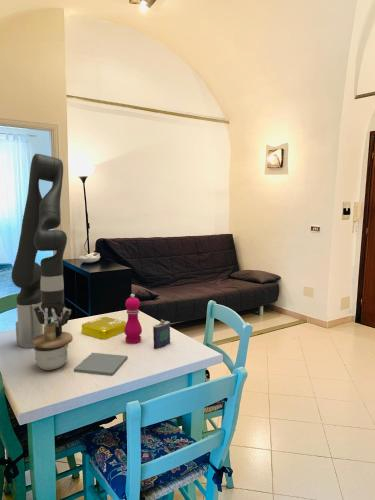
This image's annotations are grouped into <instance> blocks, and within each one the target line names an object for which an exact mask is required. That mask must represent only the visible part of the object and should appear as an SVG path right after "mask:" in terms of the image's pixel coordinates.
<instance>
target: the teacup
mask: <svg viewBox="0 0 375 500" xmlns="http://www.w3.org/2000/svg"><path fill="white" fill-rule="evenodd" d="M68 348H69V344H66V345H64V346H60V347H55V348H40V347H36V346H35V347H33V351H34V356H35V358H34V359H35V362H36V364H37V366H38V367H39V368H40V369H43V370H45V371H52V370H56V369H59V368H61V367H62V366H63V365H64V364H65V363H66V362H67V361H68Z"/></svg>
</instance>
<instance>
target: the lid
mask: <svg viewBox="0 0 375 500" xmlns="http://www.w3.org/2000/svg"><path fill="white" fill-rule="evenodd" d="M73 338H74V337H73V334H72V333H70V332H65V331H62V334H61V336H59V337H56V324H55V321H54V320H53V321H51V323H49V324H48V325H46V326H45V325H43V334H41V335H38V336H36V337H35V338H34V339H33V344H34V345H35V346H36V347H40V348H55V347H60V346H64V345H66V344H68V345H69V344H70V343H71V342H72V341H73V340H74V339H73Z"/></svg>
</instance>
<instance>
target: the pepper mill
mask: <svg viewBox="0 0 375 500" xmlns="http://www.w3.org/2000/svg"><path fill="white" fill-rule="evenodd" d="M124 303H125V308H126V313H127V321H126V326H125V329H124V332H123V334H124V335H126V336H125V342H126V343H127V344H130V345H131V344H132V345H133V344H138V343H140V342H141V341H142V337H141V335H142V332H143V329H142V325H141V322H140V319H139V313H140V309H139V308H140V306H141V301H140V300H139V298H137V297H135V294H134V293H131V294H130V297H128V298H127V299H126V300H125V302H124Z"/></svg>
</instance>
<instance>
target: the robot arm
mask: <svg viewBox="0 0 375 500" xmlns="http://www.w3.org/2000/svg"><path fill="white" fill-rule="evenodd" d="M29 168H30V169H29V176H28V178H29V179H28V188H27V197H26V199H25V200H26V201H25V206H24V211H23V215H22V220H21V221H22V223H21V228H20V235H19V241H18V247H17V252H16V254H15V255H16V256H15V259H14V264H13V265H12V266H13V267H12V270H11V281H12V284H14V286H16V288H19V289H20V292H19V293H18V295H16V312H17V321H15V338H16V346H19V347H20V348H24V349H25V348H26V349H32V348H34V347H35V345H34V344H33V339H34V338H35V337H36V336H38V335H41V334H44V326H46V325H48V324H49V323H51V322H52V319H53V321H55V324H56V337H59V336H61V334H62V332H63V326H65V325H66V324H67V323H68V322H69V319H70V317H71V314H72V312H73V310H72V309H71V308H67V307H66V305H65V303H64V301H65V293H64V292H65V290H64V289H65V288H64V286H65V285H64V284H65V283H64V276H63V275H64V274H63V260H64V253H65V249H66V247H67V243H68V236H67V234H66V232H65V231H64V230H62V229H56V228H59V226H60V225H61V221H62V220H61V219H62V218H61V194H62V188H63V178H64V162H63V161H62V160H61V159H60V158H57V157H54V156H50V155H46V154H42V153H35V154H34V155H33V156H32V159H31V162H30V167H29ZM40 181H46V182H50V183H52V185H51V188H50V189H49V190H48V191H47V193H46V194H45V195H44V196H43V197H42V194H41V191H40ZM38 251H39V252H53V251H54V252H55V251H56V252H55V254H54V255H52V256H51V255H50V256H48V257H44V258H42V259H41V260H40V264H39V263H38V262H36V258H37V254H38ZM62 314H63V315H62Z"/></svg>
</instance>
